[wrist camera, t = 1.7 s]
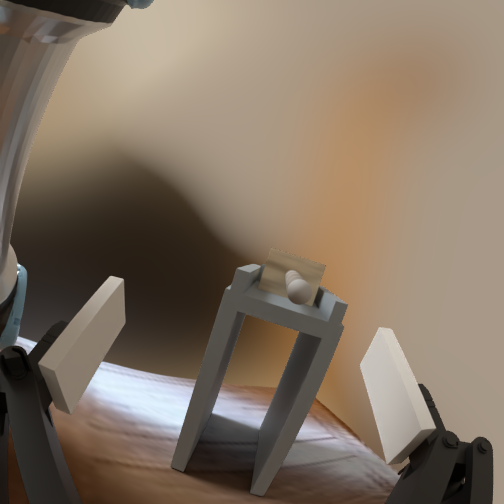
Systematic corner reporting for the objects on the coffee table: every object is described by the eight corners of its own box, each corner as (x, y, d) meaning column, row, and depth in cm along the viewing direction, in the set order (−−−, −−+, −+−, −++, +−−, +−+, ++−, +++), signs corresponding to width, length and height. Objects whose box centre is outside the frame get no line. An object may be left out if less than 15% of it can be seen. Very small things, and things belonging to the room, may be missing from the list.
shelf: (263, 496, 33) (353, 301, 33) (170, 466, 35) (234, 262, 34) (269, 430, 53) (327, 285, 53) (202, 408, 54) (251, 260, 54)
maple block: (332, 341, 24) (357, 272, 24) (240, 311, 25) (263, 241, 25) (306, 297, 51) (318, 263, 51) (261, 282, 52) (272, 248, 52)
